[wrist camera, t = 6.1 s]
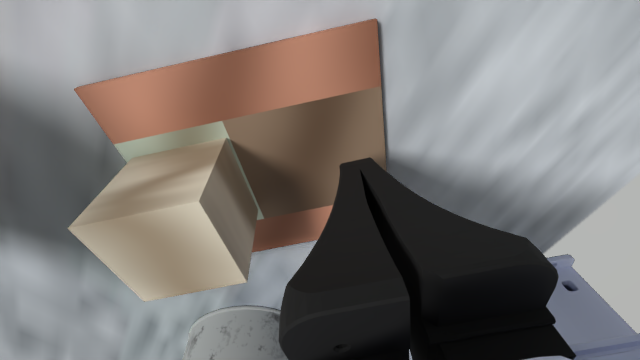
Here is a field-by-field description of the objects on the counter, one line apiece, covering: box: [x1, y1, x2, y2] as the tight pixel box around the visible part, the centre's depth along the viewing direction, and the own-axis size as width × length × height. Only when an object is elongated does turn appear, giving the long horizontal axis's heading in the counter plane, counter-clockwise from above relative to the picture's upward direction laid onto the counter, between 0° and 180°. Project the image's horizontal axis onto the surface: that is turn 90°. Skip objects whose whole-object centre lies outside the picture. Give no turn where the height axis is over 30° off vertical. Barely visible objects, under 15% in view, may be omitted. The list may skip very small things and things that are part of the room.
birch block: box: [67, 138, 258, 302], centre depth 12 cm, size 4×4×4 cm
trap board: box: [74, 19, 386, 252], centre depth 14 cm, size 12×11×1 cm
